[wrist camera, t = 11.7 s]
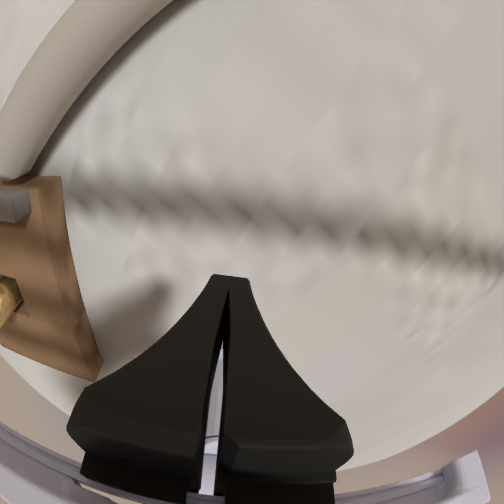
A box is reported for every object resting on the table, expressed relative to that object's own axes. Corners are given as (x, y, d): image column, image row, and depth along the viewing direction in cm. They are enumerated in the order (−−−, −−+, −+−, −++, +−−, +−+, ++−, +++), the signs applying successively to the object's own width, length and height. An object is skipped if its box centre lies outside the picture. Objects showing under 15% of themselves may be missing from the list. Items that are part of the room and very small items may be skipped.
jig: (103, 362, 29) (89, 396, 24) (11, 331, 28) (-5, 355, 23) (60, 176, 18) (20, 201, 13) (-38, 177, 17) (-69, 196, 12)
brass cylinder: (36, 291, 24) (3, 336, 18) (17, 284, 23) (-16, 326, 17) (29, 266, 22) (-10, 310, 16) (10, 260, 22) (-28, 301, 16)
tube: (11, 207, 15) (297, -72, 7) (-35, 170, 11) (234, -124, 3) (37, 170, 19) (272, -52, 10) (-3, 138, 15) (224, -94, 7)
